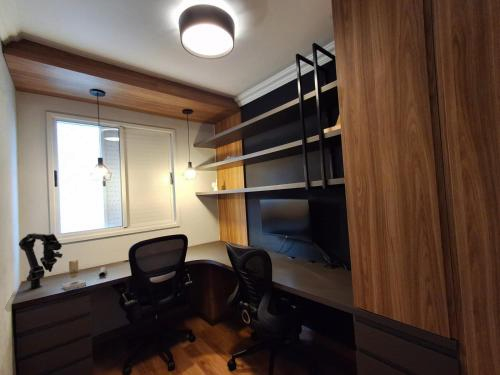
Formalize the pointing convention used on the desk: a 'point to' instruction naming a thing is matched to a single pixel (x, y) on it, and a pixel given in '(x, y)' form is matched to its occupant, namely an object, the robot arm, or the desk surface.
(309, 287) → the desk surface
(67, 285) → the housing
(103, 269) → the tube
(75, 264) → the cover
